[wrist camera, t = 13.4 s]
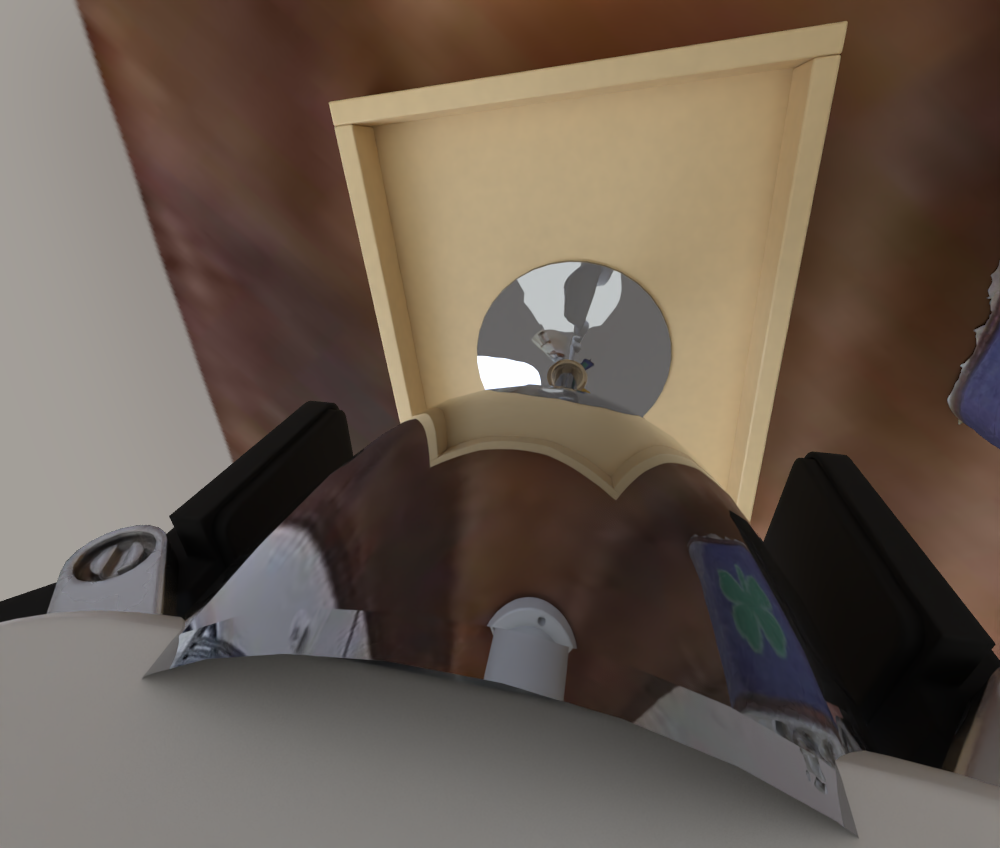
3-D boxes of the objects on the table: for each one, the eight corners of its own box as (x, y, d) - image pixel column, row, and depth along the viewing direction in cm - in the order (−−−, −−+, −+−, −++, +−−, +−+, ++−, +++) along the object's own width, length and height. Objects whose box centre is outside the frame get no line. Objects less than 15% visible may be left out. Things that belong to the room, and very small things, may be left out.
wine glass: (425, 326, 18) (-34, 747, 5) (614, 194, 15) (665, 451, 2) (538, 479, 20) (421, 1028, 7) (722, 396, 17) (1084, 1131, 4)
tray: (359, 108, 15) (327, 101, 14) (815, 39, 12) (849, 19, 11) (441, 522, 23) (428, 551, 22) (729, 538, 20) (741, 572, 19)
